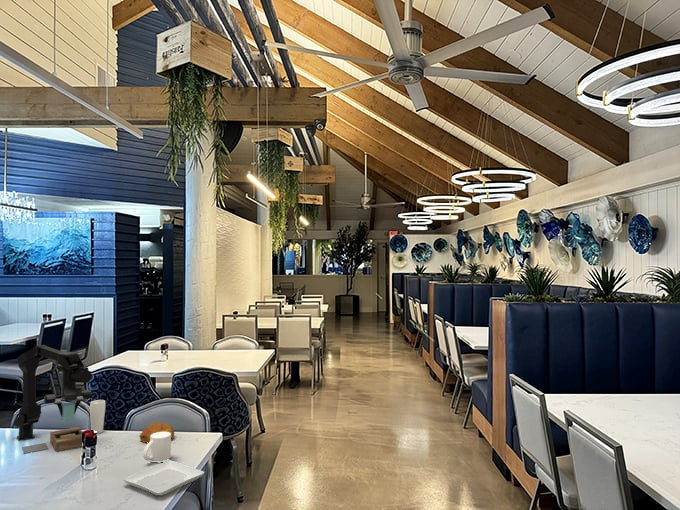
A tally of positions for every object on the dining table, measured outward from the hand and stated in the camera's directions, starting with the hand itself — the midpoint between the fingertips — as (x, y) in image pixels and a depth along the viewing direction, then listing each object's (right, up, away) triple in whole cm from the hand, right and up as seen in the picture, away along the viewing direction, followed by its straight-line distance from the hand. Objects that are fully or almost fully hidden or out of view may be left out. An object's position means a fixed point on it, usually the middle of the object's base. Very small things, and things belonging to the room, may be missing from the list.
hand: (67, 415), depth 219 cm
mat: (-11, -13, -6) cm, 18 cm away
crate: (0, -13, 0) cm, 13 cm away
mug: (+47, -13, -18) cm, 52 cm away
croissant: (+37, -14, +8) cm, 41 cm away
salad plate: (+58, -13, -39) cm, 71 cm away
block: (0, -2, 0) cm, 2 cm away
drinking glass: (+5, -14, +16) cm, 22 cm away
